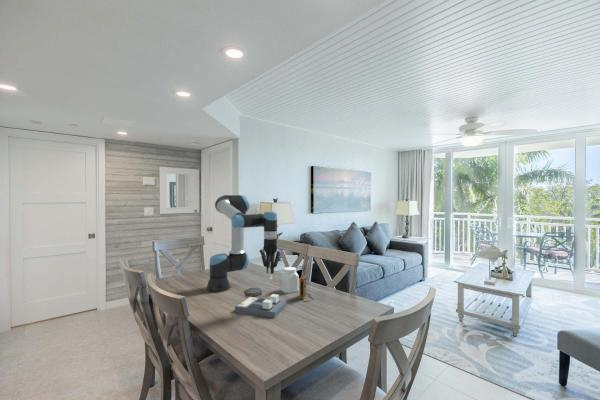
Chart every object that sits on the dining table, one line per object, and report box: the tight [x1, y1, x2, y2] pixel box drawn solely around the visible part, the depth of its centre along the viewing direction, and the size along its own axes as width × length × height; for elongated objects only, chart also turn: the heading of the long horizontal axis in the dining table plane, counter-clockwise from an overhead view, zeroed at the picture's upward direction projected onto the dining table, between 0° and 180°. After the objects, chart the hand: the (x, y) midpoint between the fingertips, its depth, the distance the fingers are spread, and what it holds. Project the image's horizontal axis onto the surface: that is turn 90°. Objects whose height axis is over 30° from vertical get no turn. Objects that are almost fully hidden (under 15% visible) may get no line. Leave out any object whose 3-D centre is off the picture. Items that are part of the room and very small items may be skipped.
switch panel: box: [234, 296, 287, 319], centre depth 157 cm, size 24×16×3 cm, turn 71°
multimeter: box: [299, 264, 315, 303], centre depth 175 cm, size 15×10×20 cm
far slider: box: [269, 293, 280, 303], centre depth 159 cm, size 4×4×4 cm
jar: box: [281, 266, 300, 294], centre depth 189 cm, size 12×10×15 cm
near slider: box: [262, 298, 272, 309], centre depth 151 cm, size 4×4×4 cm
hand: (270, 279), depth 160 cm, fingers closed
